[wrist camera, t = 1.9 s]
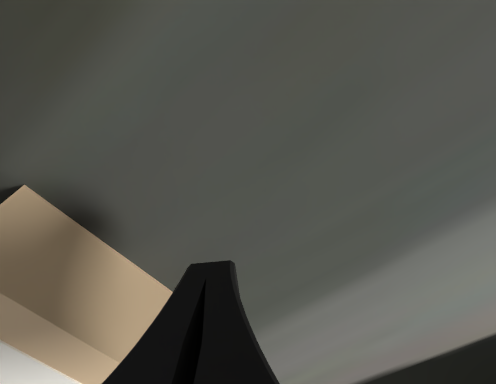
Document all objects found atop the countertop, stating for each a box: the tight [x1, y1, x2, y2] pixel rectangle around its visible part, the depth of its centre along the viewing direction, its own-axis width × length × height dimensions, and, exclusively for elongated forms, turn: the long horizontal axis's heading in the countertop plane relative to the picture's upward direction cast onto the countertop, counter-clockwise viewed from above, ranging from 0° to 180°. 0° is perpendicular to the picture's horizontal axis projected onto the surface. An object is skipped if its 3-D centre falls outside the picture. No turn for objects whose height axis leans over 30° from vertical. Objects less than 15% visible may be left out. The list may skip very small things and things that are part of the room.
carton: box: [0, 185, 173, 384], centre depth 16 cm, size 10×7×5 cm
